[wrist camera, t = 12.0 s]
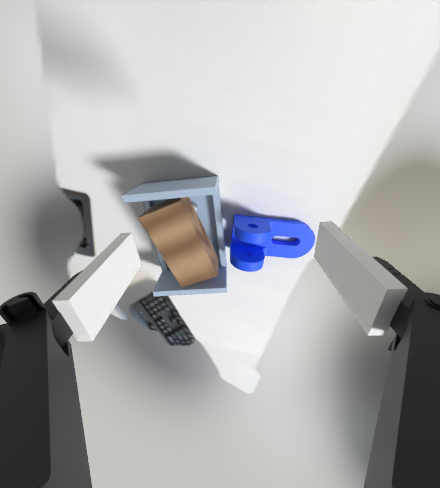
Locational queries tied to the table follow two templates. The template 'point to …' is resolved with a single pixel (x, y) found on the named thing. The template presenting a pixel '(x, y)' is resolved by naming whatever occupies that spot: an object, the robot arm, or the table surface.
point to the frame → (210, 215)
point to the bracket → (266, 240)
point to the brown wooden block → (181, 240)
